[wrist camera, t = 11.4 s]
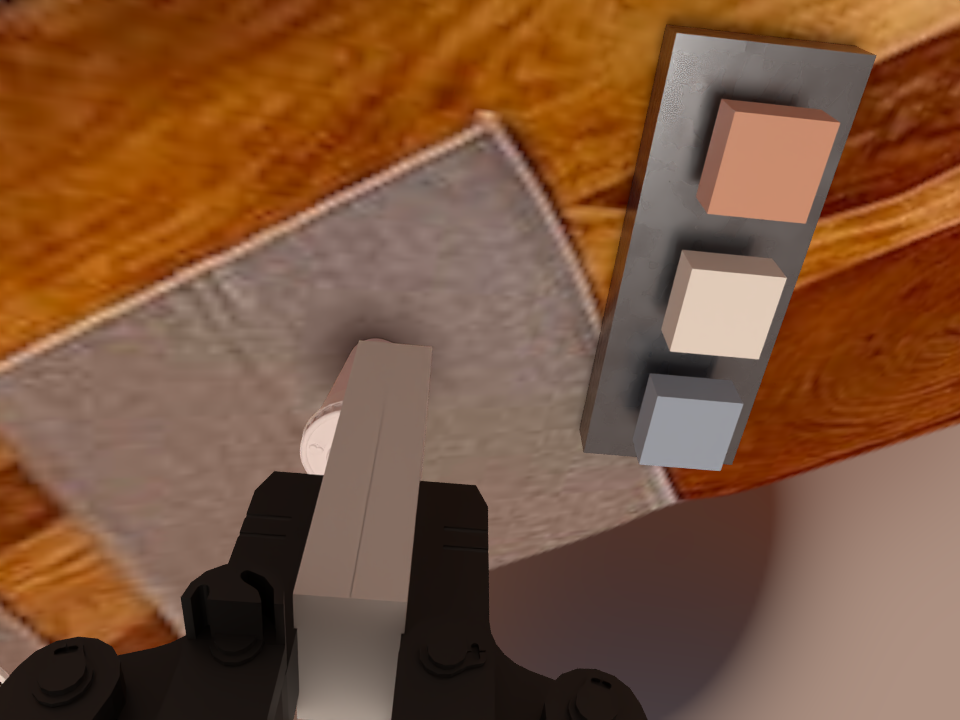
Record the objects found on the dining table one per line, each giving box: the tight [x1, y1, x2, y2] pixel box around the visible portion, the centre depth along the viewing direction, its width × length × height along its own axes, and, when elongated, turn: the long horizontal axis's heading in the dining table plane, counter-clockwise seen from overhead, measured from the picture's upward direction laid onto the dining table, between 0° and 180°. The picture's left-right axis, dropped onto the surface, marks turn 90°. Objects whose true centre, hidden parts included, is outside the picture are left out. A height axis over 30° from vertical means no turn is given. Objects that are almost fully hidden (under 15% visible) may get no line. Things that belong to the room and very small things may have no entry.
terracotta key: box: [696, 99, 840, 224], centre depth 39 cm, size 5×5×5 cm
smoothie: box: [300, 338, 392, 475], centre depth 45 cm, size 6×6×14 cm
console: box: [580, 25, 876, 465], centre depth 46 cm, size 26×10×2 cm, turn 174°
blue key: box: [633, 373, 743, 471], centre depth 48 cm, size 5×5×5 cm
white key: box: [661, 250, 787, 359], centre depth 44 cm, size 5×5×5 cm
